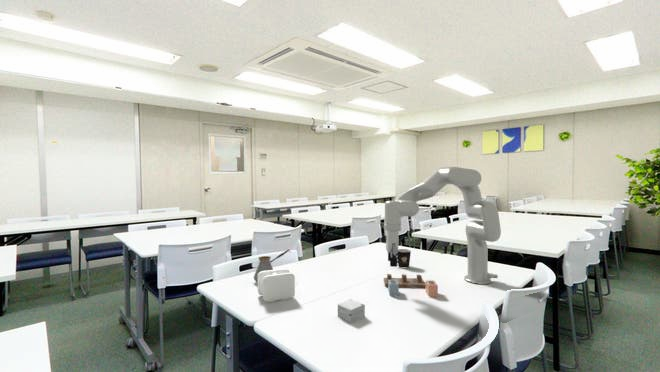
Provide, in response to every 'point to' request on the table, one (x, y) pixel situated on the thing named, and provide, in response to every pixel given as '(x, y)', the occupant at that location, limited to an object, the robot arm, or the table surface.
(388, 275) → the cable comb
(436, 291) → the terracotta plug
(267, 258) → the coffee pot
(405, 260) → the coffee mug
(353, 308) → the small box
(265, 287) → the cable organizer
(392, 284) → the slate plug
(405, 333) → the table surface
